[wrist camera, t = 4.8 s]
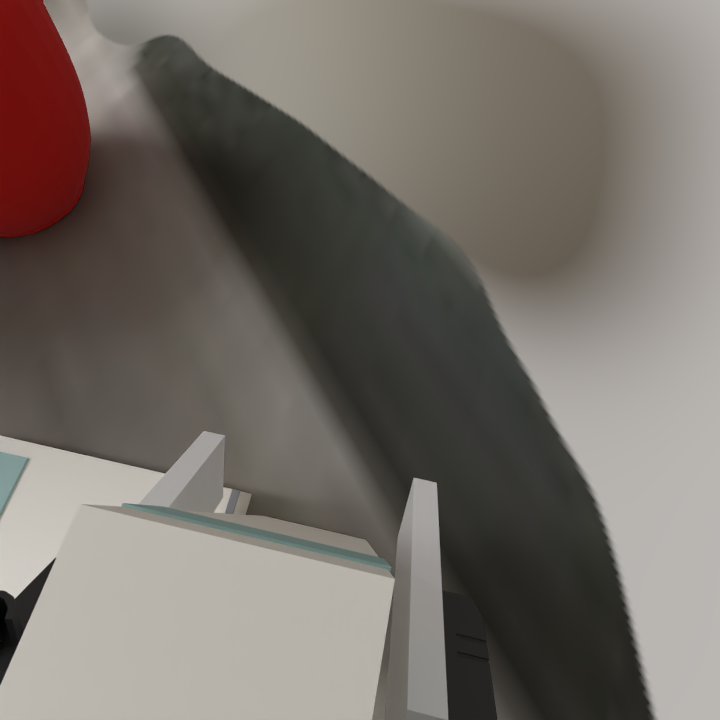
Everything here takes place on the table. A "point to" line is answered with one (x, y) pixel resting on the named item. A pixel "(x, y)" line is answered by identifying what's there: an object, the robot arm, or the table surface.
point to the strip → (62, 502)
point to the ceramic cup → (38, 122)
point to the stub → (202, 621)
